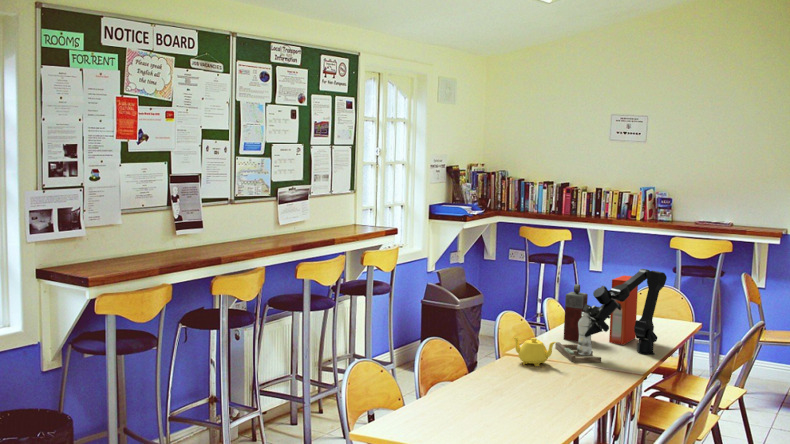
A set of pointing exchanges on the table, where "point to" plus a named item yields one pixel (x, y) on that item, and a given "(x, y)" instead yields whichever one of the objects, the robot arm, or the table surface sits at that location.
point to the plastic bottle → (584, 342)
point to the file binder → (623, 316)
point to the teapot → (533, 351)
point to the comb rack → (574, 353)
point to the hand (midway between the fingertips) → (582, 334)
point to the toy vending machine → (573, 313)
